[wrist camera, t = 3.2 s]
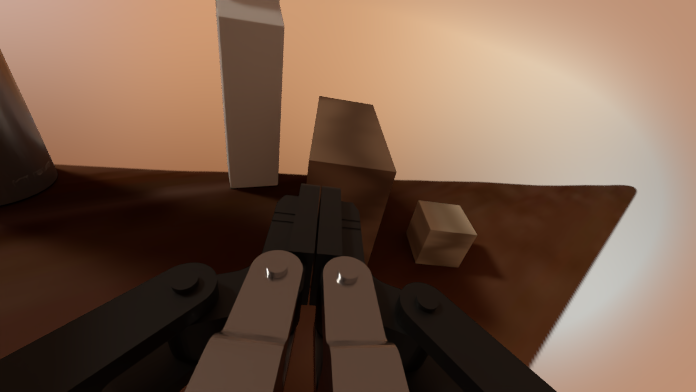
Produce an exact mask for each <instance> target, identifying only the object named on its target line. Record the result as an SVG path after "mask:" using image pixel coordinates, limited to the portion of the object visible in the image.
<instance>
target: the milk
mask: <svg viewBox="0 0 696 392" xmlns="http://www.w3.org/2000/svg"><path fill="white" fill-rule="evenodd" d="M216 16H217V29H218V42H219V55H220V70H221V83H222V96H223V110H224V123H225V136H226V150H227V163H228V171H229V179H230V187H231V188H245V187H259V186H274V185H278V168H279V142H280V119H281V94H282V93H281V92H282V68H283V45H284V23H283V18H282V14H281V10H280V5H279V0H216Z"/></svg>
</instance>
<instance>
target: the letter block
mask: <svg viewBox="0 0 696 392" xmlns="http://www.w3.org/2000/svg"><path fill="white" fill-rule="evenodd" d="M406 234H407V237H408V240H409V244H410V247H411V250H412V254H413V257H414V260H415V263H416V264H427V265H437V266H448V267H459V265H460V264H461V262H462V260H463V259H464V257H465V255H466V253H467V252H468V250H469V248H470V247H471V245H472V243H473V241H474V240H475V238H476V236H477V234H476V232H475V231H474V229H473V227H472V226H471V224H470V222H469V221H468V219H467V217H466V216H465V214H464V212H463V211H462V209H461V207H460V206H459V205H451V204H443V203H435V202H427V201H418V203H417V206H416V208H415V211H414V213H413V216H412V218H411V221H410V224H409V226H408V229H407V231H406Z"/></svg>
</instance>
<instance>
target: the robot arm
mask: <svg viewBox="0 0 696 392" xmlns="http://www.w3.org/2000/svg"><path fill="white" fill-rule="evenodd" d="M57 176H58V173H57V170H56V168H55V166H54V164H53V162H52V160H51V157H50V155H49V153H48V151H47V149H46V147H45V144H44V142H43V140H42V138H41V135H40V133H39V131H38V129H37V127H36V125H35V123H34V121H33V118H32V116H31V114H30V112H29V110H28V108H27V105H26V103H25V101H24V99H23V97H22V95H21V93H20V91H19V89H18V86H17V85H16V82H15V80H14V78H13V76H12V73H11V71H10V69H9V67H8V65H7V63H6V61H5V58H4V56H3V54H2V52H1V50H0V206H1V205H5V204H9V203H13V202H16V201H19V200H22V199H25V198H28V197H30V196H32V195H35V194H37V193H39V192H41V191H43V190H44V189H46V188H48V187H49V186H50V185H51V184H53V183H54V181H55V180H56V179H57ZM319 195H320V186H318V185H310V184H302V183H301V187H300V192H299V196H291V195H285V196H284V197H283V198H281V199H280V200H279V201H278V202H277V205H276V208H275V212H274V215H273V218H272V222H271V225H270V228H269V232H268V235H267V238H266V242H265V245H264V248H263V252H262V254H261V255H260V256H258V257H257V258H256V259H255V260H254V261H253V263H252V264H251V266H249V267H247V268H245V269H242V270H239V271H235V272H229V273H224V274H218V275H216V273H215V271H214V270H213V269H212V268H211V267H210V266H208V265H205V264H202V263H185V264H181V265H178V266H175V267H173V268H171V269H169V270H167V271H165V272H163V273H161V274H159V275H158V276H156V277H154V278H152V279H150V280H148V281H146V282H144V283H143V284H141V285H139V286H137V287H135V288H133V289H131V290H129V291H128V292H126V293H124V294H122V295H120V296H118V297H116V298H114V299H113V300H111V301H109V302H107V303H105V304H103V305H101V306H99V307H98V308H96V309H94V310H92V311H90V312H88V313H86V314H84V315H83V316H81V317H79V318H77V319H75V320H73V321H71V322H69V323H68V324H66V325H64V326H62V327H60V328H58V329H56V330H54V331H53V332H51V333H49V334H47V335H45V336H43V337H41V338H39V339H38V340H36V341H34V342H32V343H30V344H28V345H26V346H24V347H23V348H21V349H19V350H17V351H15V352H13V353H11V354H9V355H8V356H6V357H4V358H2V359H0V392H179V391H180V390H181V389H183V388H184V387H185V386H186V385H187V384H188V385H187V388H186V390H185V392H283V391H284V386H285V381H286V376H287V371H288V366H289V361H290V356H291V352H292V347H293V342H294V337H295V332H296V326H297V325H298V322H299V319H300V310H301V305H307V302H308V295H309V288H310V281H311V291H310V302H309V305H315V306H316V313H315V322H314V328H313V361H314V392H556V391H555V390H554V389H553V388H552V387H551V386H549V385H548V384H547V383H546V382H545V381H544V380H542V379H541V378H540V377H539V376H538V375H537V374H535V373H534V372H533V371H532V370H531V369H530V368H528V367H527V366H526V365H525V364H524V363H523V362H522V361H520V360H519V359H518V358H517V357H516V356H515V355H513V354H512V353H511V352H510V351H509V350H508V349H506V348H505V347H504V346H503V345H502V344H501V343H499V342H498V341H497V340H496V339H495V338H494V337H492V336H491V335H490V334H489V333H488V332H487V331H485V330H484V329H483V328H482V327H481V326H480V325H478V324H477V323H476V322H475V321H474V320H473V319H471V318H470V317H469V316H468V315H467V314H466V313H464V312H463V311H462V310H461V309H460V308H459V307H457V306H456V305H455V304H454V303H453V302H452V301H450V300H449V299H448V298H447V297H446V296H445V295H443V294H442V293H441V292H440V291H439V290H437V289H436V288H434V287H433V286H430V285H428V284H425V283H420V282H414V283H410V284H407V285H406V286H405V287H403V289H402V290H401V289H399V288H396V287H393V286H390V285H388V284H385V283H383V282H381V281H379V280H378V279H376V278H375V277H374V276H373V275H372V274H371V272H370V270H369V268H368V267H367V266H366V265H365V260H364V251H363V242H362V233H361V224H360V215H359V211H358V209H357V208H356V206H355V205H354V204H353V203H352V202H344V201H341V188H335V187H327V186H322V188H321V196H320V203H319ZM318 206H319V210H318ZM317 217H318V218H317ZM312 266H313V269H312ZM311 274H312V280H311Z"/></svg>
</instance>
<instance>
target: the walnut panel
mask: <svg viewBox="0 0 696 392" xmlns="http://www.w3.org/2000/svg"><path fill="white" fill-rule="evenodd" d="M395 175H396V170H395V167H394V164H393V161H392V158H391V155H390V152H389V150H388V147H387V144H386V141H385V139H384V135H383V133H382V130H381V127H380V124H379V121H378V118H377V116H376V113H375V110H374V107H373V105H370V104H363V103H358V102H351V101H346V100H339V99H334V98H328V97H322V96H320V97H319V102H318V109H317V115H316V121H315V127H314V133H313V139H312V145H311V151H310V158H309V166H308V175H307V184H310V185H318V186H320V195H319V203H320V196H321V188H322V186H327V187H335V188H341V201H344V202H352V203H353V204H354V205H355V206H356V208H357V209H358V211H359V215H360V224H361V233H362V242H363V251H364V260H365V265H366V266H367V265H368V262H369V258H370V255H371V252H372V249H373V245H374V242H375V239H376V236H377V233H378V229H379V226H380V223H381V220H382V217H383V213H384V210H385V207H386V204H387V201H388V197H389V194H390V191H391V188H392V184H393V181H394V178H395ZM318 210H319V206H318ZM317 218H318V217H317ZM312 269H313V266H312ZM311 280H312V274H311ZM310 286H311V281H310Z"/></svg>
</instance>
